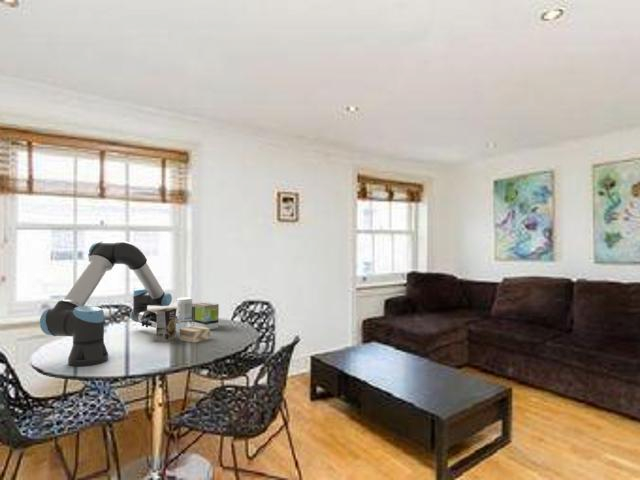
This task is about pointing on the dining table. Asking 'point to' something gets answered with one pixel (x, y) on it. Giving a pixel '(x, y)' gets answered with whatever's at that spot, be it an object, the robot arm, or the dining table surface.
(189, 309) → the supplement tub
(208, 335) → the birch block
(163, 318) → the coffee box
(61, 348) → the dining table surface
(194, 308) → the tea box
